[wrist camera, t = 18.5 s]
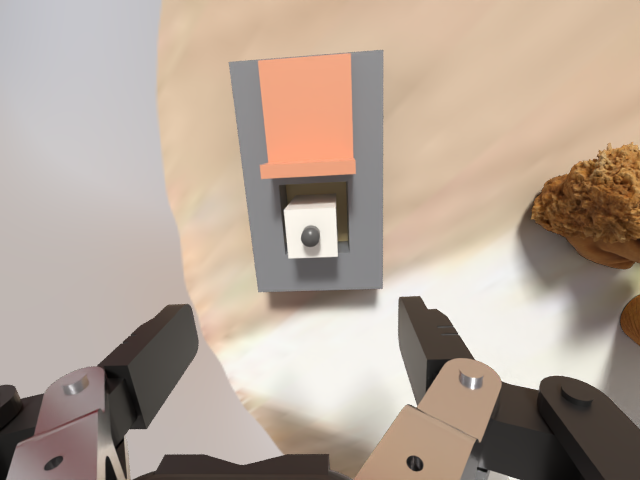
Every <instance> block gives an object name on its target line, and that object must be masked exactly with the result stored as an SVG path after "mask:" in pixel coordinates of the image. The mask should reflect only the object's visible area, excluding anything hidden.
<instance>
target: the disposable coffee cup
mask: <svg viewBox="0 0 640 480" xmlns="http://www.w3.org/2000/svg"><path fill="white" fill-rule="evenodd" d="M620 323H621V328H622V330H623V332H624V333H625V334H626V335H627V336H629V337H630V338H631V339H632V340H633V341H634V342H636V343H637V344H638V345H639V346H640V295H638V296H636V297H635V298H634V299H632V300H631V301H630V302H629V303H628V304H627V306H626V307H625V309H624V310H623V312H622V315H621V320H620Z"/></svg>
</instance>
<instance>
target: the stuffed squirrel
mask: <svg viewBox="0 0 640 480" xmlns="http://www.w3.org/2000/svg"><path fill="white" fill-rule="evenodd" d="M607 145H608V146H607V151H606V150H603V151H602V152H601V151H600V150H599V154H598V155H597V157H598V158H599V159H598V160H597V159H593V160H590V159H589V161H583V162H581V161H579V163H577V164H576V165H574V166H573V167H572V168H571V171H570V173H569V174H568V175H567V174H565V175H563V176H558V177H554V178H552V179H550V180H548V181H547V182H546V183H545V184H544V188H543V189H542V192H541V194H540V195H539V196H537V197H536V198H535V201H534V202H533V203H534V206H533V208H532V210H531V211H532V216H531V217H532V218H530V219H535V221H536V222H535V223H538V224H540V225H541V226H542V227H543V228H544V229H546V230H548V231H552V232H553V233H556V234H560V235H562V236H563V237H565V238H566V239H567V240H568V242H569V243H570V244H571V245H572V246H573V247H574V248H575V249H576V251H577V252H578V253H579V254H580V255H581V256H583V257H584V258H586V259H588V260H591V261H593V262H595V263H598V264H602V265H605V266H609V267H612V268H618V269H629V268H631V267H632V265H633V264H634V263H635V262H637V263H640V150H638V146H637V145H633V142H631V144H629V145H623V146H622V147H621V148H616V149H612V147H611V143H608V144H607Z"/></svg>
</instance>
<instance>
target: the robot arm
mask: <svg viewBox="0 0 640 480" xmlns="http://www.w3.org/2000/svg"><path fill="white" fill-rule="evenodd" d="M398 338H399V346H400V351H401V355H402V358H403V361H404V364H405V368H406V371H407V374H408V377H409V381H410V384H411V387H412V390H413V394H414V397H415V400H416V403H417V407H414V406H412V405H409V404H408V405H406V406H405V407H404V408H403V409H402V410H401V412H400V413H399V415H398V416H397V417H396V419H395V420H394V422H393V423H392V425H391V426H390V428H389V429H388V430H387V432H386V433H385V435H384V436H383V438H382V439H381V441H380V442H379V443H378V445H377V446H376V448H375V449H374V451H373V452H372V454H371V455H370V456H369V458H368V459H367V461H366V462H365V464H364V465H363V467H362V468H361V470H360V471H359V472H358V474H357V475H356V477H355V478H354V480H509V478H508V476H510V477H513V478H516V479H520V480H640V429H639V428H638V427H637V426H636V425H635V424H634V423H633V422H632V421H631V420H630V419H629V418H628V417H627V416H626V415H625V414H624V413H623V412H622V411H621V410H620V409H619V408H618V407H617V406H616V405H615V404H614V403H613V402H612V401H611V400H610V399H609V398H608V397H607V396H606V395H605V394H604V393H602V392H601V391H600V390H598V389H596V388H595V387H593V386H591V385H589V384H587V383H585V382H583V381H580V380H577V379H574V378H570V377H564V376H550V377H547V378H544V379H543V380H542V381H541V382H540V386H539V390H534V389H530V388H525V387H520V386H515V385H511V384H507V383H504V382H502V381H501V379H500V377H499V375H498V374H497V373H496V372H495V371H494V370H493V369H492V368H491V367H489V366H488V365H486V364H484V363H482V362H479V361H476V360H475V359H474V358H473V356H472V354H471V353H470V351H469V350H468V348H467V347H466V345H465V344H464V342H463V340H462V339H461V337H460V336H459V335H458V333H457V331H456V329H455V328H454V327H453V325H452V323H451V322H450V320H449V318H448V317H447V316H446V315H444V314H443V313H441V312H440V311H438V310H437V309H427V307H426V306H425V304H424V302H423V300H422V298H421V297H420V296H412V297H399V309H398ZM197 350H198V335H197V331H196V326H195V322H194V316H193V312H192V308H191V306H190V305H189V304H178V305H167V306H166V307H165V308H164V309H163V310H162V311H161V312H160V313H158V314H157V315H156V316H155V318H153V319H151V320H149V321H148V322H146V323H144V324H143V325H141V326H140V327H138V328H137V329H136V330H135V331H134V332H133V333H132V334H131V336H129V337H128V338H127V339H125V340H124V341H123V344H120V345H119V346H118V347H117V348H116V349H115V350H114V351H113V352H112V353H111V354H110V355H108V356H107V357H106V358H105V359H104V360H103V361H102V362H101V363H100V364H98V366H93V367H92V366H91V367H86V368H81V369H78V370H75V371H73V372H70V373H68V374H66V375H64V376H63V377H61V378H59V379H58V380H56V381H55V382H54V383H52V384H51V385H50V386H49V387H48V389H47V390H46V391H45V393H44V394H40V395H35V396H31V397H27V398H23V399H20V397H19V395H18V392H17V390H16V388H15V387H14V386H12V385H1V386H0V480H131V478H130V466H129V455H128V444H127V440H126V437H125V434H126V433H127V432H128V430H129V429H147V428H148V426H149V425H150V423H151V421H152V420H153V419H154V417H155V416H156V414H157V413H158V411H159V410H160V408H161V406H162V405H163V404H164V402H165V400H166V399H167V398H168V396H169V394H170V393H171V391H172V390H173V389H174V387H175V385H176V384H177V383H178V381H179V380H180V378H181V377H182V375H183V374H184V372H185V370H186V369H187V367H188V366H189V365H190V363H191V362H192V360H193V359H194V357H195V355H196V353H197ZM133 480H353V479H351V478H349V477H348V476H345V475H343V474H341V473H339V472H336V471H332V470H330V463H329V454H287V455H283V456H279V457H275V458H271V459H267V460H264V461H259V462H255V463H251V464H247V465H238V464H235V463H231V462H228V461H224V460H221V459H218V458H214V457H211V456H208V455H165V456H164V457H163V459H162V461H161V463H160V465H159V467H158V468H157V470H156V471H154V472H150V473H147V474H145V475H142V476H140V477H137V478H135V479H133Z"/></svg>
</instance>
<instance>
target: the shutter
mask: <svg viewBox="0 0 640 480" xmlns="http://www.w3.org/2000/svg"><path fill="white" fill-rule="evenodd" d="M258 68H259V77H260V87H261V97H262V106H263V116H264V126H265V135H266V145H267V154H268V163H265V164H262V165H260V172H261V179H270V178H289V177H307V176H326V175H345V174H356V161H355V159H354V158H353V121H352V80H351V53H347V54H334V55H322V56H309V57H296V58H284V59H271V60H259V61H258Z"/></svg>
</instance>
